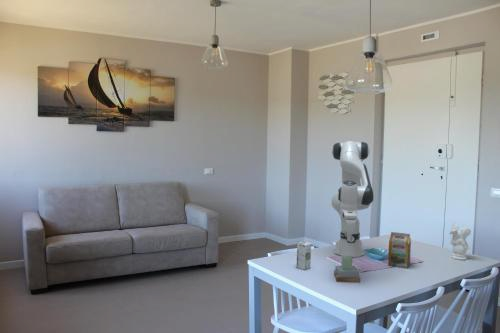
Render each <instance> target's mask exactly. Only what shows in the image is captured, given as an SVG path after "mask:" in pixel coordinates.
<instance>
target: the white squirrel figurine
mask: <svg viewBox="0 0 500 333" xmlns="http://www.w3.org/2000/svg"><path fill="white" fill-rule="evenodd" d="M450 230H451V231H449V235H452V236H451V239H450V244H451V245H452V252H453V253H452V255H451V258H452V259H453V260H458V261H466V260H468V257H466V254H467V250H470V246H469V244H468V242H467V240H466V239H467V237H469V236H470V235H471V232H472V230H471V228H470V227H469V226H463V227H462V228H460V229H459V225H458V224H457V223H456V222H455V221H453V222H452V225H451V229H450Z"/></svg>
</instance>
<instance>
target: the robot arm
mask: <svg viewBox="0 0 500 333" xmlns="http://www.w3.org/2000/svg"><path fill="white" fill-rule="evenodd" d="M331 154H332V156H333V159H335V160H337V161H339V164H340V167H341V182H342V184H341V186H340V188H338V191H337V193H338V194H334V195H333V196H332V199H331V206H332V208H333V210H335V211H336V212H337V213H338V215H339V217H340V220H341V222H340V225H341V226H340V227H341V228H340V229H341V230H340V233H339V236H340V237H339V239H338V241H336V242H335V243H336V247H335V250H334V255H339V256H340V257H342V256H351V257H352V258H358V257H361V256H365V252H364V251H363V242H362V240H360V238H361V233H360V220H359V219H358V211H362V210H366V209H368V208H369V207H370V205H371V204H372V203H373V202H374V198H375V193H374V190H373V187H372V183H371V180H370V175H369V172H368V169H367V165H366V164H365V163H363V161H364V160H366V159H367V158H368V157H369V155H370V146H369V144H368V143H367V142H363V141H361V142H360V141H353V140H347V141H345V142H336V143H334V144H333V146H332V148H331Z"/></svg>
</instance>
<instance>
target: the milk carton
mask: <svg viewBox="0 0 500 333" xmlns="http://www.w3.org/2000/svg"><path fill="white" fill-rule="evenodd" d="M411 249H412V238H411V233H406V232H405V233H404V232H396V231H390V236H389V240H388V261H387V264H388V267H394V268H400V269H407V270H408V268H409V267H410V264H411V252H412V251H411Z"/></svg>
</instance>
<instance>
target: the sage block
mask: <svg viewBox="0 0 500 333" xmlns="http://www.w3.org/2000/svg"><path fill="white" fill-rule="evenodd" d="M340 264H341V265H340V266H341V267H342V270H352V266H353V257H351V256H341V263H340Z"/></svg>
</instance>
